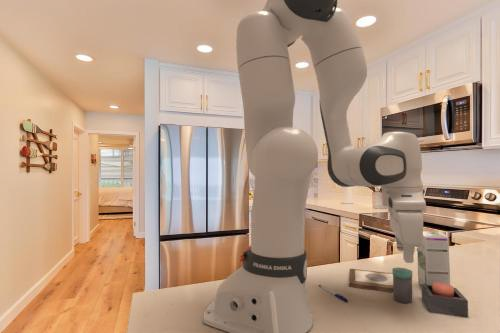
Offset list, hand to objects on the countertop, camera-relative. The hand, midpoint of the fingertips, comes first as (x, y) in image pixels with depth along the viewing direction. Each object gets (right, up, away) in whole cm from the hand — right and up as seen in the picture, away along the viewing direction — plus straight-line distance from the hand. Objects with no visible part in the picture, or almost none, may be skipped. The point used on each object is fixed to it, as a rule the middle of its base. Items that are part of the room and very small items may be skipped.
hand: (404, 255), depth 67 cm
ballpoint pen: (-17, -11, +3) cm, 20 cm away
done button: (+6, -8, -4) cm, 11 cm away
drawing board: (-2, -11, +11) cm, 15 cm away
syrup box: (+11, -11, +6) cm, 17 cm away
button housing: (+6, -10, -4) cm, 13 cm away
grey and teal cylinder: (-1, -10, 0) cm, 10 cm away
